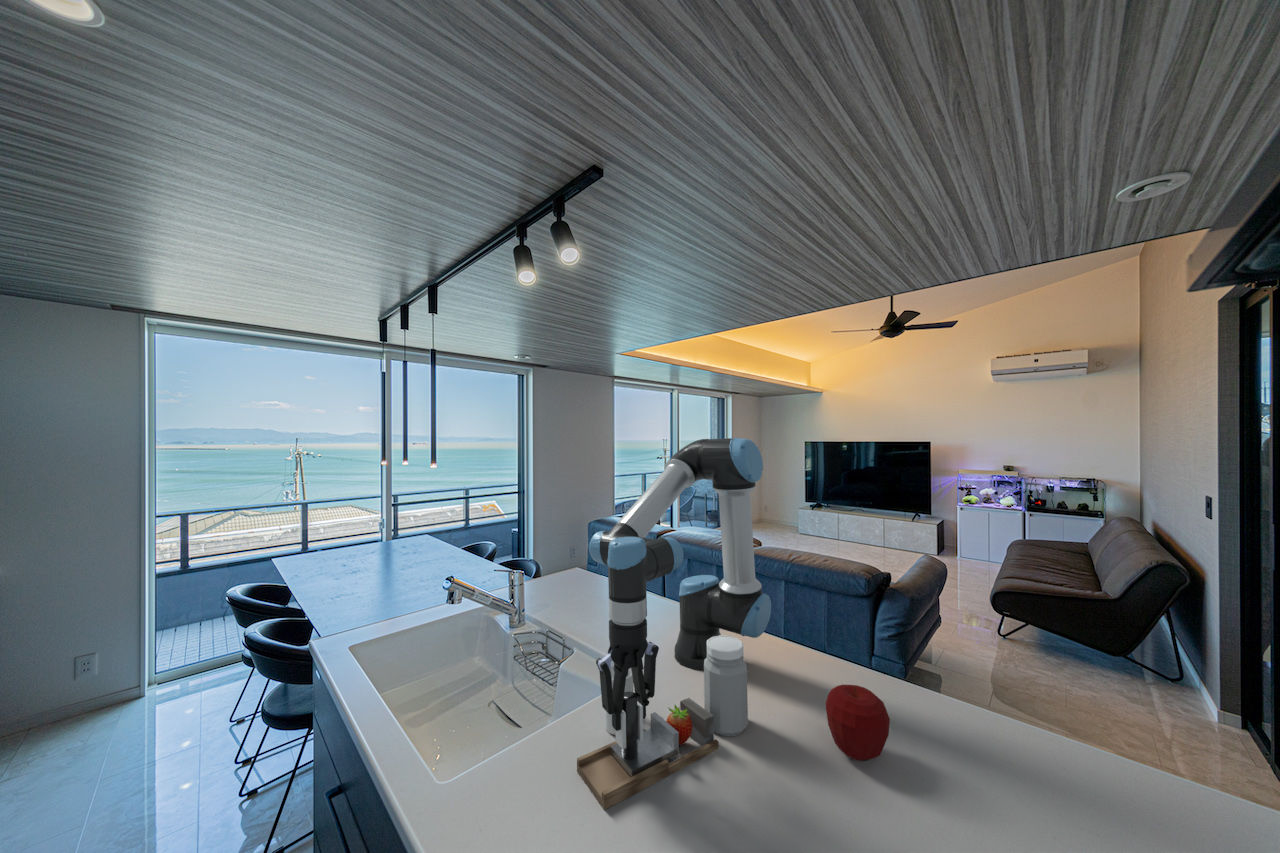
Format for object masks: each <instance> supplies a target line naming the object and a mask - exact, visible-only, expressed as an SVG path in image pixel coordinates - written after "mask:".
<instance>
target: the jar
mask: <svg viewBox="0 0 1280 853" xmlns="http://www.w3.org/2000/svg"><path fill="white" fill-rule="evenodd" d="M744 655H745V654H744V643H743V641H741V640H740V639H739V638H736V637H734V636H730V635H722V634H721V635H719V636H714V637H711V638H710V639H708V640H707V658H706V659H705V660H704V669H703V682H704V684H703V686H704V687H703V690H704V691H703V693H704V694H703V696H704V698H703V699H704V709H705V710H706V711H708V712H709V713H710V714H712V715H713V721H714V733H716V734H719V735H721V736H726V737H733V736H737V735H740V734H741V733H742V732H743V731H745V729H746V728H747V727H748V725H749V718H748V717H749V711H748V708H749V706H748V705H749V704H748V668H747V662H746V661H745V660H744V659H745V658H744Z"/></svg>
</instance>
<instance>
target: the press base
mask: <svg viewBox="0 0 1280 853" xmlns="http://www.w3.org/2000/svg"><path fill="white" fill-rule="evenodd" d="M679 709H680V710H682V711H684V710H686V709H688V710H687V713H690V714H689V716H690V718H691V720H692V733H691V735H690V737H689V738H690V739H692V740H693V741H694V742H695V743H696V744H698V745H699V746H700V747H698V748H696V749H694V750H692V751H690V752H688V753H686V754H684V755H682V756H681V757H678V758H677V759H676V758H675V759H674V760H673V761H671V762H669V761H668V760H664V761H662V762H660V763H658V764H656V765H654V766H652V767H650V768H648V769H646V770H644V771H642V772H640V773H638V774H636V775H634V776H632V777H631V776H630V775H629V774H628V772H627V771H626V770H625V769H624V768H623V767H622V765H621V764H620V763H619V762H618V761H617V760H616V758H615V757H614V756H613V755H612V754H611V753H610V746H612V745H615V744H617V742H616V740H615V741H613V742H611V743H608V744H605V745H604V746H602V747H598V749H595V750H593V751H590V752H588V753H585V754H583V755H582V756H578V757H577V758H576V772H577V774H578V775H579V776H580V778H581V779H582V781H583V782H584V783H585V785H586V787H587V788H588V789H589V790H590V792H591V794H593V796H594V798H595V799H596V801H597V802H598V803H599V805H600V806H601V808H602V810H604V811H606V810H607V809H609V808H612V807H614V806H615V805H617V804H619V803H621V802H623V801H624V800H627V799H628V798H630V797H633V796H634V795H636V794H637V793H640V792H641V791H644V790H645V789H647V788H648V787H651V786H653V785H654V784H656V783H658V782H660V781H662V780H664V779H666V778H667V777H669V776H672V775H674V774H675V773H677V772H678V771H681V770H683V769H684V768H686V767H688V766H690V765H692V764H694V763H696V762H697V761H700V760H702V759H703V758H705V757H707V756H709V755H711V754H713V753H714V752H716V751H718V750H720V741H719V740H717V739H716V738H715V736H714V735H715V734H714V733H715V732H714V721H713V715H712V714H710V713H709V712H708V711H706V710H705V707H704V708H703V707H702V706H701V705H699V703H697V702H696V701H695V700H693V699H691V698H690V697H688V698H684V699H682V700H680V701H679Z"/></svg>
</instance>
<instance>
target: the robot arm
mask: <svg viewBox="0 0 1280 853" xmlns="http://www.w3.org/2000/svg"><path fill="white" fill-rule="evenodd" d="M663 469H664V470H663V471H662V472H661V473H660V475H658V477H657V478H656V479H655V480H654V481H653V482H652V483H651V484H650V486H649V487H648V488H647V489H646V490H645V491H644V493H642V494H641V496H640V497H639V498H638V499H637V500H635V502H634V503H633V504H632V505H631V507H630V508H629V509H628V510H627V511H626V512H625V514H623V516H622V517H621V518H619V520H618V521H617V522H616V524H614V526H613V527H611V529H609V530H600V531H598V532H595V533H594V534H593V536H592V537H591V539H590V540H589V545H588V546H589V547H588V550H589V551H588V552H589V555H590V557H591V559H592V560H593V561H595V562H596V563H597V564H598V563H599V564H602V565H604V566H606V567H607V578H608V579H607V582H608V618H609V620H608V638H609V647H608V650H607V654H606V655H605V656H604V657H602V658H601V657H598V658H597V659H596V661H595V664H596V666H597V669H598V670H599V671H598V672H599V679H600V680H599V682H600V693H601V694H600V695H601V706H602V708H603V710H604V709H605V710H606V711H607V712H608V713H609V714H610V715H611V714H612V726H613V728H614V729H615V730H616V735H615V741H616V742H617V744H618V745H619V746H620V747H621V748H622V749H625V748H626V713H625V712H624V711H623V710H622V708H623V699H624V691H625V682H626V677H627V676H628V670H629V669H630V668H631V671H632V677H633V691H634V693H636V694H637V726H638V740H639V741H642V740H643V732H644V720H646V717H647V706H649V704H650V700H649V699H650V698H653V697H655V690H656V689H655V687H656V673H657V672H656V670H657V669H656V666H657V656H658V654H659V650H660V647H659V646H658V645H657V644H655V643H654V642H652V641H648V640H647V638H648V621H647V616H648V604H647V603H648V601H647V600H648V599H647V583H648V582H651V581H653V580H655V579H658V578H660V577H663V576H667V575H670V574H672V573H673V572H674V571H676V570H678V569H679V568H680V567H681V566H682V565H683V561H684V550H683V546H682V545H681V544H680V542H679V540H677V539H676V538H674V537H671V536H665V537H663V536H662V537H659V538H656V539H654V538H649V537H647V536H648V534H649V533H650V532H651V531H652V530H653V528H655V526H656V525H657V523H658V522H659V521H660V519H662V517H663V516H664V515H665V513H666V512H667V511H668V510H669V509H670V507H671V506H673V504H674V502H675V501H676V500H677V499H678V498H679V496H680V495H681V494H682V493H683V491H684V490H685V489H687V488H690V487H691V488H692V486H693V485H694V483H695V482H697V481H701V480H708V481H710V480H711V481H712V489H713V490H714V491H715V492H716V493H717V494H718V505H719V508H718V509H719V520H720V522H719V523H720V536H721V537H720V538H721V539H720V540H721V551H722V553H721V555H722V569H723V578H722V579H721V580H720V579H719V578H718V577H717V576H715V575H713V574H712V575H711V574H700V575H693V576H689V577H686V578H684V579H683V580H681V582H680V584H679V592H678V593H679V594H678V596H679V631H678V632H679V633H678V636H677V640H676V643H675V646H674V658H675V660H676V662H678V663H679V664H681V666H683V667H684V666H685V667H686V668H690V669H695V670H704V660H705V659H706V658H707V640H708V639H710V638H711V637H714V636H719V635H722V634H721V631H720V630H723V631H727V632H730V633H733V634H737V635H741V636H742V637H748V638H752V639H757V638H759V637H760V636H762V634H764V632H765V630H766V628H767V626H768V624H769V621H770V617H771V613H772V600H771V598H770V596H769V595H768V594H767V593H763V589H762V583H761V582H760V581H759V580H758V579H757V578H756V569H755V568H756V566H755V550H754V531H753V520H752V519H753V518H752V517H753V516H752V501H751V500H752V499H751V493H752V492H753V491H754V490H755V489H756V485H757V484H756V483H757V482H759V481H760V480H761V478H762V476H763V470H764V462H763V457H762V454H761V451H760V448H759V447H758V445H757V444H756V443H755V442H754V441H753V440H751V439H748V438H739V437H731V438H702V439H698V440H695V441H693V442H690V443H688V444H687V445H685V446H683V447H682V448H681V449H679V450H678V451H677V452H676V453H674V454H673V455H672V456H671V457H670V458H669V459H668V460H667V461H666V463H665V464H664V468H663ZM612 662H613V665H614V681H613V689H612V678H611V672H610V669H611V666H612Z"/></svg>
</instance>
